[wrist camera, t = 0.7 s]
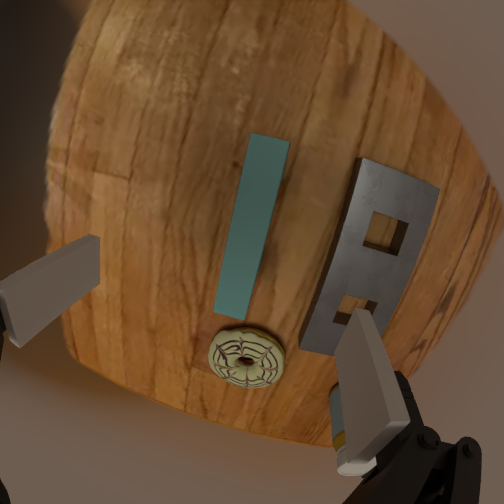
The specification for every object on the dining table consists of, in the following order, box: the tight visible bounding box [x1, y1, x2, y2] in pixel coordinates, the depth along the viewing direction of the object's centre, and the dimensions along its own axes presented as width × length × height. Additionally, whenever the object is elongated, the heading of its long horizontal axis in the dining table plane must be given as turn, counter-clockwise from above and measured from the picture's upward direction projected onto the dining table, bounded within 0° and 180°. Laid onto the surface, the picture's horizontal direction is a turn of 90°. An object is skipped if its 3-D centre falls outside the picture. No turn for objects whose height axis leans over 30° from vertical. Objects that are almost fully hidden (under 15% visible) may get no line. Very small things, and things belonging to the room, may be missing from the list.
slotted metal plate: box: [298, 158, 440, 356], centre depth 31 cm, size 24×10×3 cm, turn 167°
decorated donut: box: [208, 327, 285, 388], centre depth 37 cm, size 10×11×4 cm
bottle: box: [329, 384, 377, 476], centre depth 32 cm, size 7×7×15 cm
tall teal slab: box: [213, 133, 290, 320], centre depth 27 cm, size 16×3×10 cm, turn 167°
